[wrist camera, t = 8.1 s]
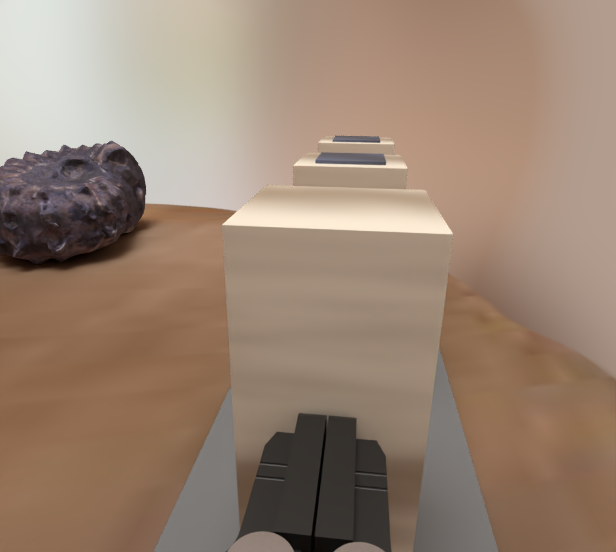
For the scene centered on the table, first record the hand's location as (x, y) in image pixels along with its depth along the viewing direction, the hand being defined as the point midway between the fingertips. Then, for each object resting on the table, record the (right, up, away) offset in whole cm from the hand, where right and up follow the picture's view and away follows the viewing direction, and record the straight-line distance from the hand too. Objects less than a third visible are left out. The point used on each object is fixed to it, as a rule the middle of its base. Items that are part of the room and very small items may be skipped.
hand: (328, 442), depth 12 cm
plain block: (0, -5, +5) cm, 7 cm away
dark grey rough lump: (-25, +8, +40) cm, 48 cm away
